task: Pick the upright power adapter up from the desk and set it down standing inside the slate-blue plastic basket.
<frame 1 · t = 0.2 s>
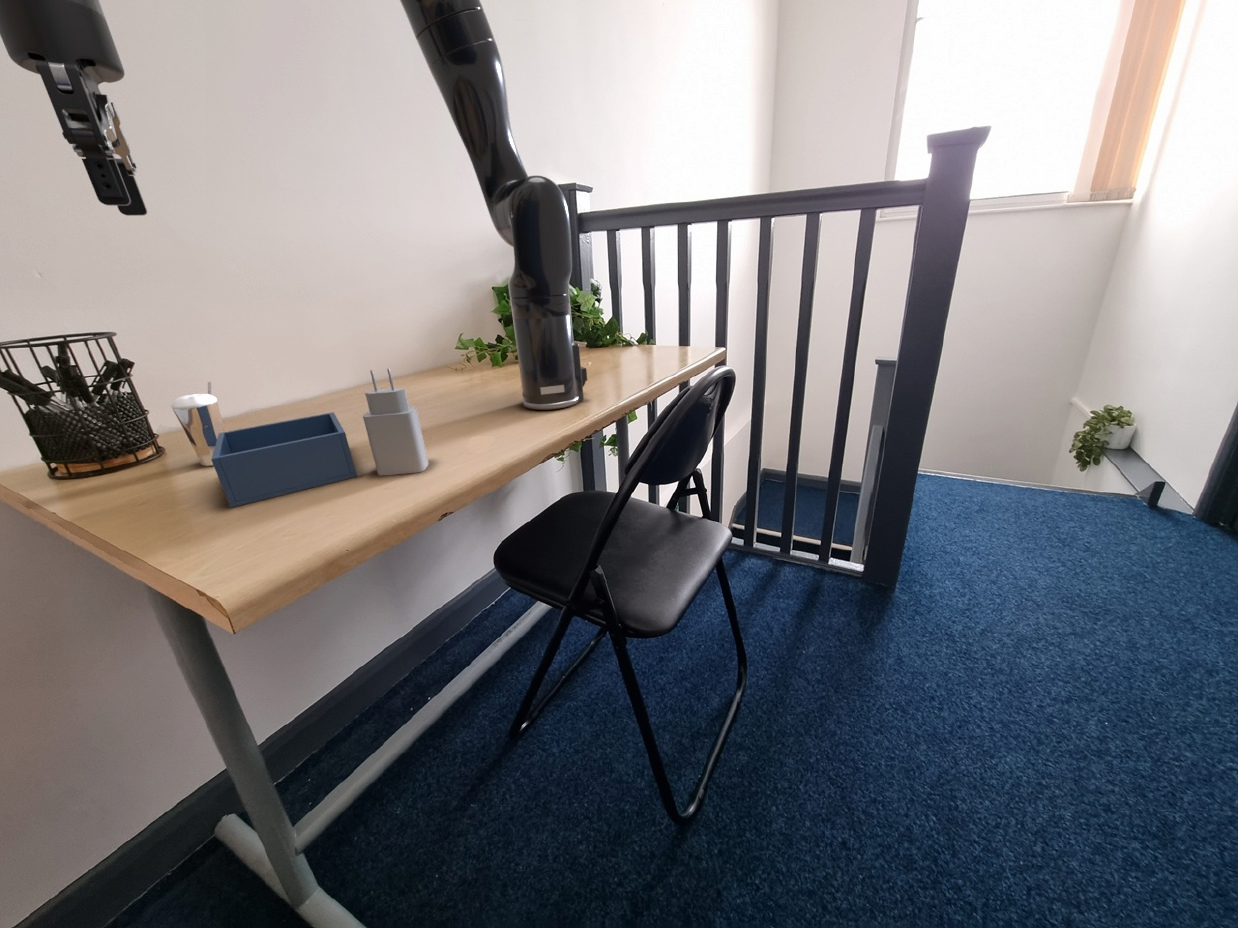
hand: (126, 210, 50), 29 cm above the table, tool pointing down, fingers open, 8 cm apart
basket: (294, 476, 59), on the table
milkshake: (220, 461, 66), on the table
power adapter: (404, 470, 59), on the table
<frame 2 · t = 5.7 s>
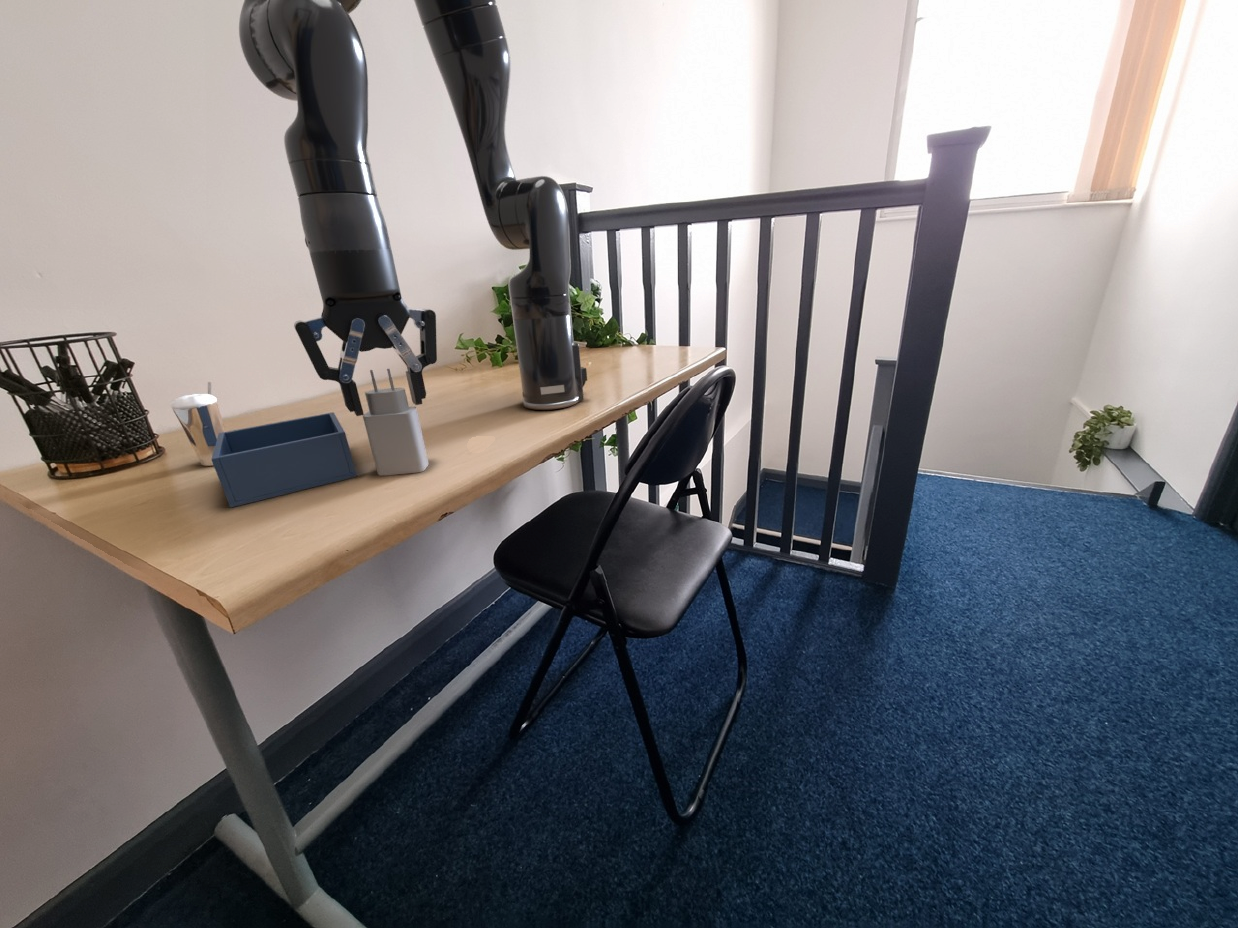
hand: (389, 408, 57), 8 cm above the table, tool pointing down, fingers closed on power adapter, 5 cm apart
power adapter: (404, 470, 59), on the table, touching gripper
everything else where it was.
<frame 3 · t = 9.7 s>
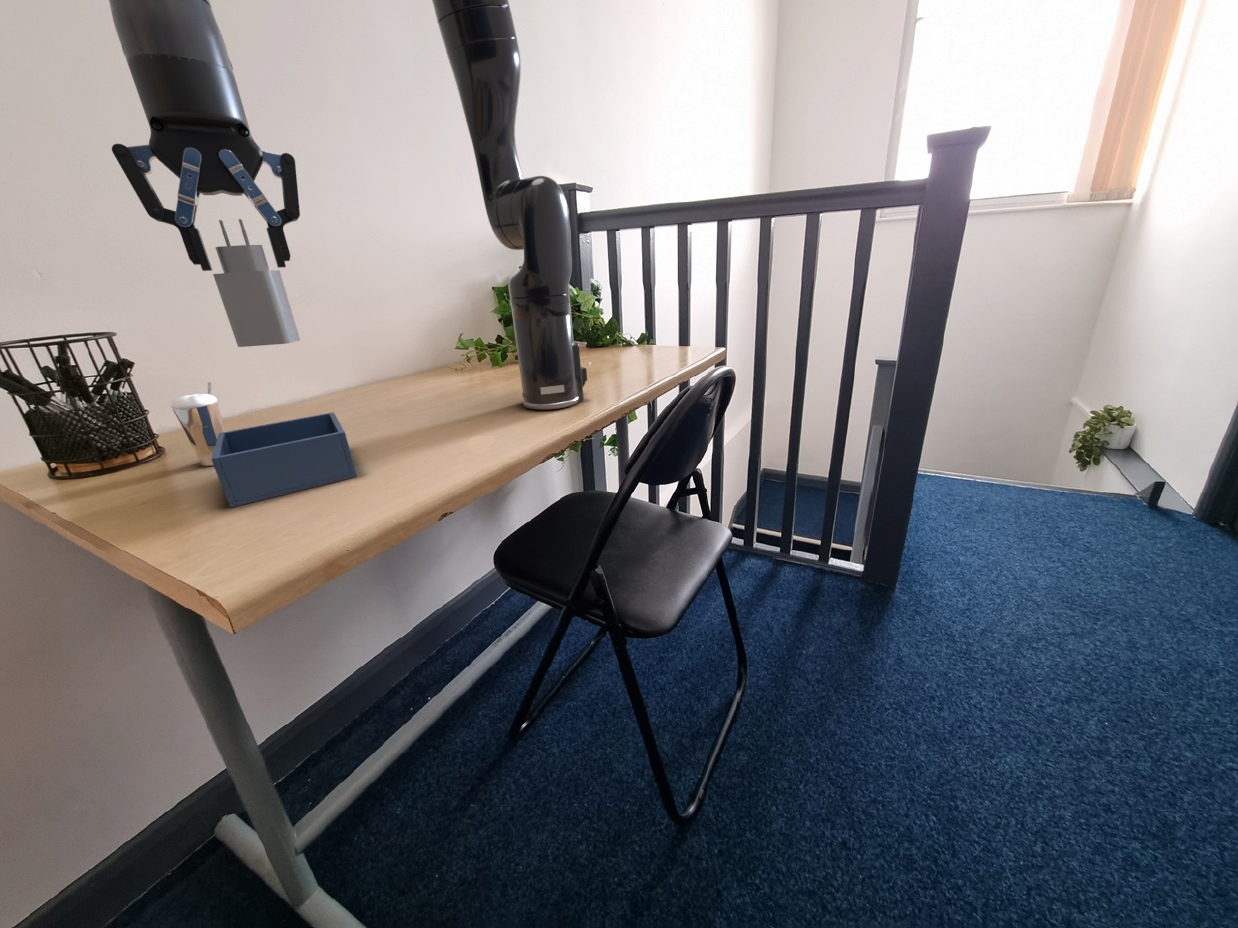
hand: (246, 268, 51), 23 cm above the table, tool pointing down, fingers closed on power adapter, 5 cm apart
power adapter: (270, 345, 53), point 15 cm above the table, touching gripper
everything else where it was.
when the fingers open (8 cm above the table, at t = 13.6 s): power adapter stays where it is, resting on basket.
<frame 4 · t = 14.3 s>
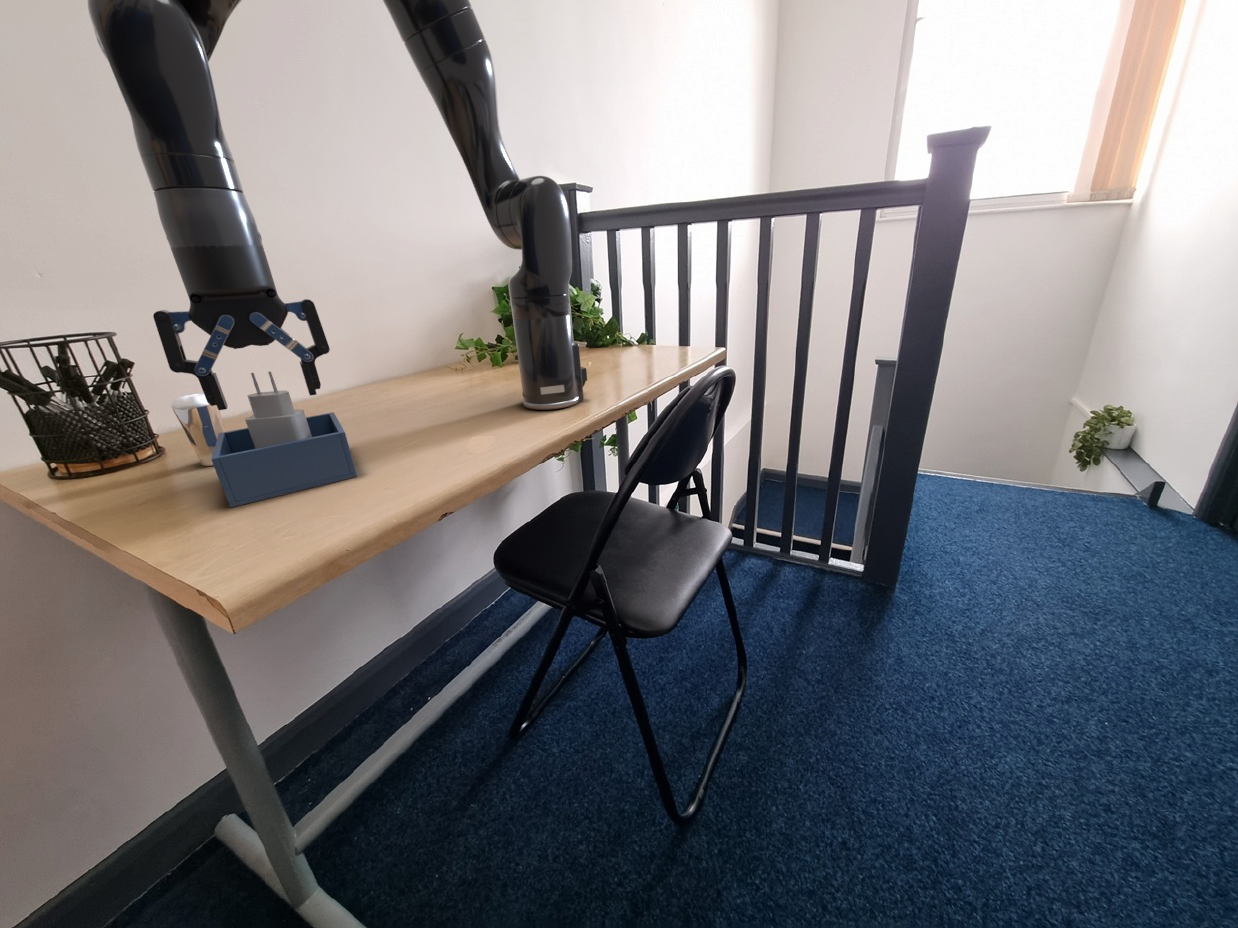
hand: (270, 401, 56), 9 cm above the table, tool pointing down, fingers open, 8 cm apart
power adapter: (294, 473, 59), resting on basket
everything else where it was.
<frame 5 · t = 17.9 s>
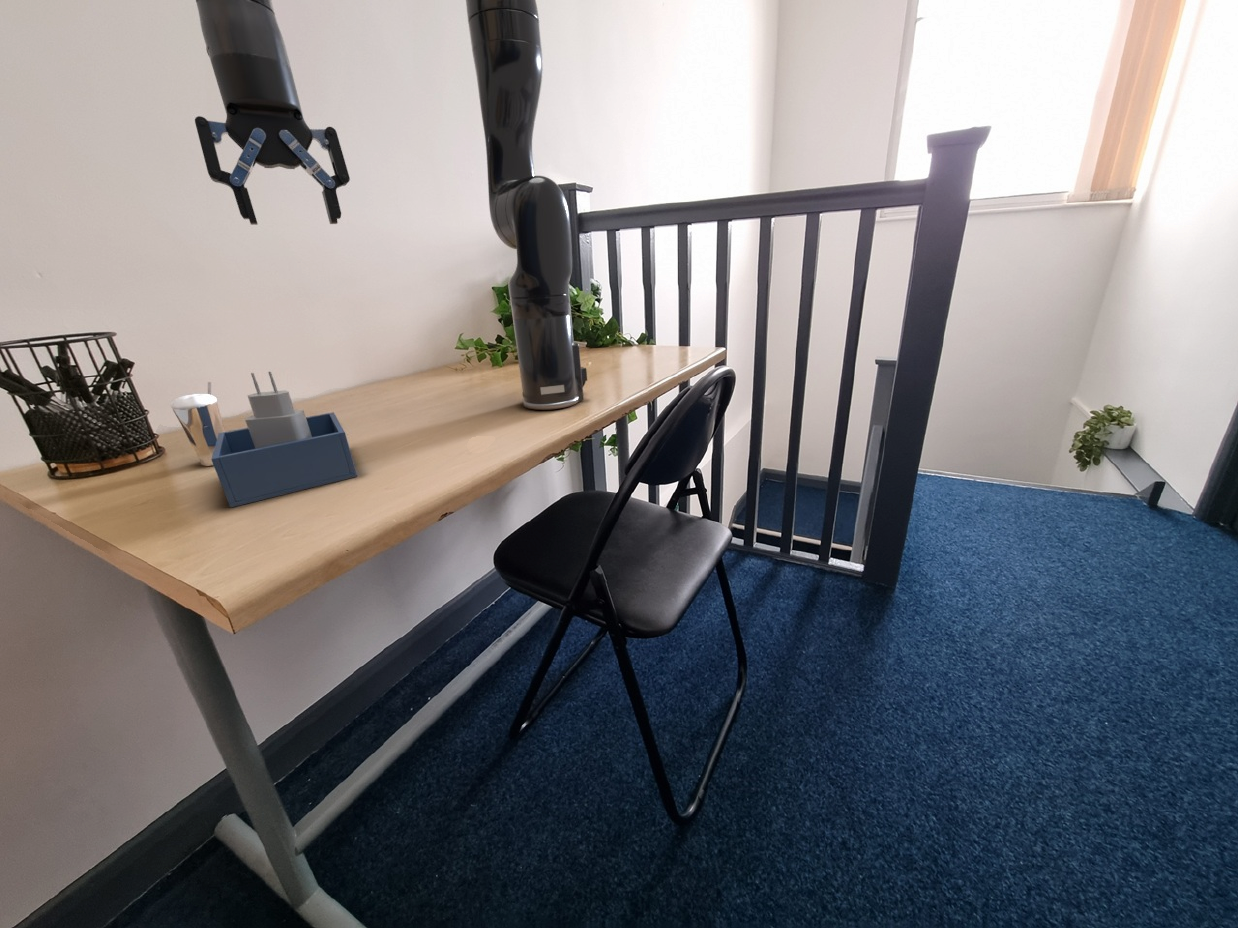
hand: (295, 224, 61), 28 cm above the table, tool pointing down, fingers open, 8 cm apart
nothing on the table moved.
at the end: power adapter inside the target area in the basket (0.1 cm from its centre), point 0.3 cm above the basket's base; power adapter tilted 0°; the gripper is holding nothing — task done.
